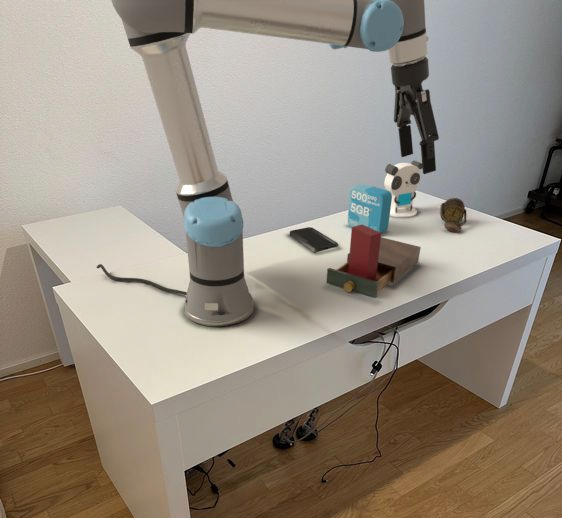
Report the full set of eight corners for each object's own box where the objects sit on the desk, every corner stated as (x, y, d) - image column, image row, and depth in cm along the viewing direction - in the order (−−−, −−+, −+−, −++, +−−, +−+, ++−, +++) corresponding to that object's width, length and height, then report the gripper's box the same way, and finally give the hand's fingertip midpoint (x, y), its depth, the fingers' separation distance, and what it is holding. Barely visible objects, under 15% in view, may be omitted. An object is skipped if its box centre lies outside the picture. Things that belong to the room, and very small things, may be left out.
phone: (310, 226, 160) (339, 243, 149) (310, 230, 160) (339, 247, 150) (287, 231, 157) (315, 249, 146) (287, 235, 157) (315, 253, 147)
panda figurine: (393, 219, 169) (399, 170, 160) (373, 208, 177) (378, 161, 168) (424, 214, 173) (432, 165, 164) (403, 203, 181) (409, 157, 172)
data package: (346, 225, 164) (350, 185, 157) (356, 222, 167) (359, 182, 160) (378, 236, 157) (383, 195, 150) (387, 232, 160) (393, 191, 153)
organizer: (392, 287, 131) (395, 267, 128) (345, 273, 137) (347, 254, 134) (417, 266, 141) (420, 246, 138) (372, 254, 147) (374, 235, 144)
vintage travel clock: (479, 204, 164) (449, 192, 167) (467, 212, 155) (436, 199, 158) (468, 226, 169) (439, 213, 172) (456, 235, 159) (426, 221, 162)
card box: (347, 278, 131) (351, 226, 124) (357, 275, 133) (362, 224, 125) (365, 288, 127) (371, 235, 120) (375, 285, 129) (381, 232, 121)
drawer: (371, 304, 123) (374, 285, 120) (323, 289, 129) (324, 271, 126) (402, 277, 134) (405, 260, 132) (356, 265, 140) (358, 248, 138)
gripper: (452, 63, 101) (457, 174, 114) (404, 47, 120) (413, 144, 133) (413, 75, 101) (422, 185, 114) (372, 58, 120) (384, 153, 133)
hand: (417, 163), depth 124 cm, fingers open, 13 cm apart
